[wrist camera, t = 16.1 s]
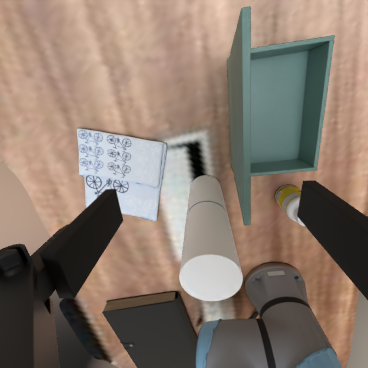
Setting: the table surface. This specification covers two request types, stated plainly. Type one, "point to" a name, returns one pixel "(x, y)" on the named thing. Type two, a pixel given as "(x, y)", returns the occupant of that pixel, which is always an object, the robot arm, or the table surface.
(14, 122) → the table surface
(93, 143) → the folded bicycle print towel
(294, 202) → the supplement bottle
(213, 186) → the cylindrical container
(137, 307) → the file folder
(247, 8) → the lid
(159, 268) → the table surface
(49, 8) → the table surface
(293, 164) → the chest
